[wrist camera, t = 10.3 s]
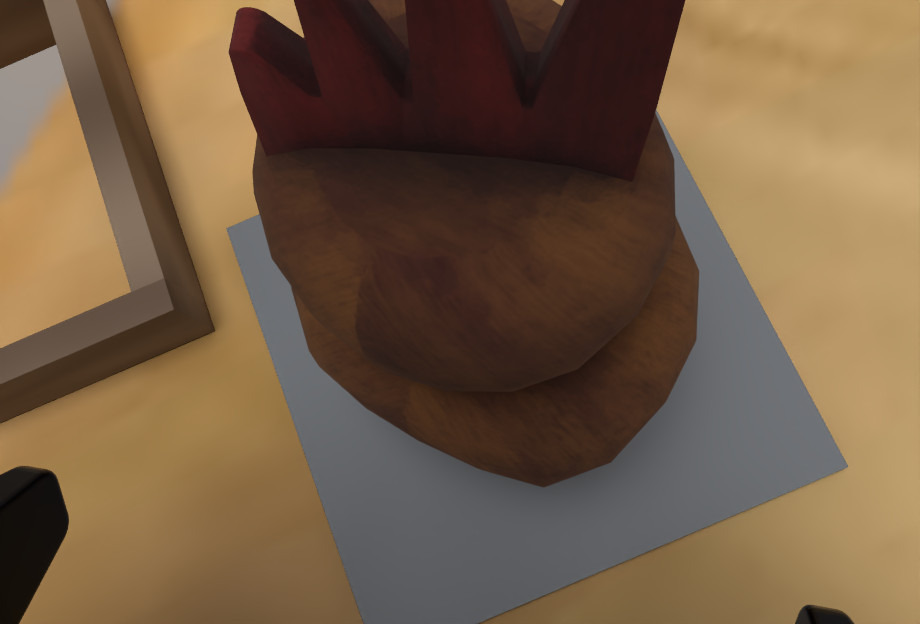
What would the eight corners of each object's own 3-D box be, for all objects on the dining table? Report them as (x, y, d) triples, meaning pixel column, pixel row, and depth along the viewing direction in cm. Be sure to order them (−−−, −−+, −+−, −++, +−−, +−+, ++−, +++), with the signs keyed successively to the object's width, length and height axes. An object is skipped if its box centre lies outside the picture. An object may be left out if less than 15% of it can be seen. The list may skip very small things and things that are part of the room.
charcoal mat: (843, 467, 17) (848, 466, 17) (381, 662, 18) (377, 665, 17) (626, 62, 20) (627, 55, 20) (231, 232, 20) (226, 228, 20)
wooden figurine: (698, 301, 18) (1224, -479, 4) (587, 530, 17) (728, 634, 3) (441, 183, 20) (125, -701, 5) (326, 389, 19) (-434, -4, 4)
